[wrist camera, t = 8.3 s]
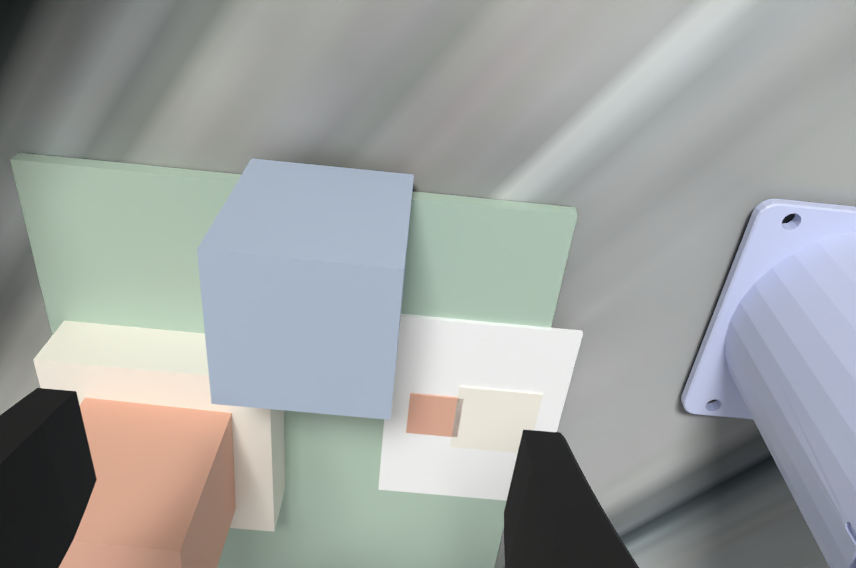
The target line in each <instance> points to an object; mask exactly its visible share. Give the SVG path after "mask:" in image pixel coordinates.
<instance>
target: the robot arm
mask: <svg viewBox="0 0 856 568" xmlns="http://www.w3.org/2000/svg"><path fill="white" fill-rule="evenodd" d="M794 213H795V217H794V218H793V220H792V221H790V222H788V223H783V224H782V220H783V219H784V218H785V217H786V216H787V215H789V214H794ZM711 400H716V401H714V402H713V403H708V402H709V401H711ZM681 401H682V404H683V406H684V408H685V410H686V411H687V412H689V413H692V414H699V415H710V416H721V417H732V418H743V419H753V420H754V422H755V424H756V426H757V428H758V430H759V432H760V434H761V435H762V437H763V439H764V441H765V443H766V445H767V447H768V449H769V451H770V453H771V455H772V457H773V459H774V461H775V463H776V465H777V467H778V468H779V470H780V472H781V474H782V476H783V478H784V480H785V482H786V484H787V486H788V488H789V490H790V492H791V494H792V496H793V498H794V500H795V502H796V503H797V505H798V507H799V509H800V511H801V513H802V515H803V517H804V519H805V521H806V523H807V525H808V527H809V529H810V531H811V533H812V535H813V537H814V538H815V540H816V542H817V544H818V546H819V548H820V550H821V552H822V554H823V556H824V558H825V560H826V562H827V564H828V566H829V568H856V207H854V206H844V205H834V204H824V203H814V202H804V201H794V200H784V199H768V200H766V201H763V202H761V203H760V204H759V205H758V206H756V208H755V209H754V211H753V212H752V215H751V217H750V220H749V223H748V225H747V228H746V230H745V233H744V236H743V238H742V241H741V243H740V246H739V248H738V251H737V254H736V256H735V259H734V261H733V264H732V267H731V269H730V272H729V274H728V277H727V280H726V282H725V285H724V287H723V290H722V292H721V295H720V298H719V300H718V303H717V305H716V308H715V311H714V313H713V316H712V318H711V321H710V324H709V326H708V329H707V331H706V334H705V336H704V339H703V342H702V344H701V347H700V349H699V352H698V355H697V357H696V360H695V362H694V365H693V368H692V370H691V373H690V375H689V378H688V380H687V383H686V386H685V388H684V391H683V393H682V396H681ZM96 480H97V478H96V474H95V470H94V465H93V461H92V457H91V453H90V448H89V444H88V440H87V435H86V431H85V427H84V422H83V418H82V414H81V410H80V405H79V401H78V397H77V392H76V391H67V390H56V389H44V388H37V389H36V390H34V391H33V392H31V393H30V394H29V395H27V396H26V397H24V398H23V399H22V400H20V401H19V402H18V403H16V404H15V405H14V406H12V407H11V408H10V409H8V410H7V411H6V412H4V413H3V414H2V415H0V568H59V566H60V564H61V562H62V560H63V559H64V557H65V555H66V553H67V551H68V549H69V547H70V545H71V543H72V541H73V540H74V537H75V535H76V532H77V530H78V527H79V525H80V522H81V520H82V517H83V515H84V512H85V510H86V507H87V504H88V502H89V499H90V496H91V494H92V491H93V488H94V486H95V483H96ZM504 545H505V568H639V567H638V565H637V564H636V562H635V561H634V559H633V558H632V556H631V555H630V553H629V551H628V550H627V548H626V546H625V545H624V543H623V542H622V540H621V538H620V537H619V535H618V533H617V532H616V530H615V529H614V527H613V525H612V524H611V522H610V521H609V519H608V517H607V515H606V514H605V512H604V510H603V509H602V507H601V505H600V503H599V502H598V500H597V498H596V496H595V494H594V493H593V491H592V489H591V487H590V485H589V484H588V482H587V480H586V478H585V476H584V474H583V472H582V471H581V469H580V467H579V465H578V463H577V461H576V459H575V457H574V455H573V453H572V451H571V449H570V447H569V445H568V443H567V441H566V439H565V438H564V436H563V435H562V434H561V433H558V432H547V431H535V430H523V432H522V437H521V441H520V445H519V450H518V454H517V458H516V463H515V467H514V471H513V475H512V480H511V484H510V488H509V493H508V497H507V501H506V505H505V510H504Z"/></svg>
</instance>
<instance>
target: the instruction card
mask: <svg viewBox="0 0 856 568" xmlns="http://www.w3.org/2000/svg"><path fill="white" fill-rule="evenodd" d="M582 336H583V332H582V331H581V330H570V329H560V328H549V327H538V326H528V325H517V324H506V323H495V322H485V321H474V320H463V319H453V318H442V317H431V316H420V315H410V314H401V321H400V330H399V340H398V350H397V360H396V370H395V380H394V390H393V400H392V410H391V420H387V419H384V428H383V440H382V452H381V464H380V476H379V487H378V490H388V491H400V492H411V493H423V494H435V495H446V496H458V497H470V498H481V499H493V500H505V501H507V497H508V493H509V488H510V484H511V480H512V475H513V471H514V467H515V463H516V458H517V454H518V450H519V445H520V441H521V437H522V432H523V430H535V431H547V432H557V429H558V425H559V421H560V417H561V414H562V410H563V406H564V403H565V399H566V395H567V391H568V388H569V384H570V380H571V377H572V373H573V369H574V365H575V362H576V358H577V354H578V350H579V347H580V343H581V339H582Z"/></svg>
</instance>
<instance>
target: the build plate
mask: <svg viewBox="0 0 856 568" xmlns="http://www.w3.org/2000/svg"><path fill="white" fill-rule="evenodd" d="M10 163H11V167H12V171H13V175H14V179H15V183H16V187H17V191H18V196H19V200H20V204H21V208H22V212H23V216H24V220H25V224H26V229H27V233H28V237H29V241H30V245H31V249H32V253H33V257H34V262H35V266H36V270H37V274H38V278H39V282H40V286H41V290H42V295H43V299H44V303H45V307H46V311H47V315H48V319H49V324H50V328H51V332H52V335H53V334H54V333H55V332H56V330H57V329H58V328H59V327H60V325H61V324H62V323H63V321H74V322H85V323H96V324H107V325H118V326H129V327H140V328H151V329H162V330H173V331H183V332H194V333H205V329H204V319H203V308H202V298H201V287H200V277H199V266H198V256H197V248H198V246H199V245H200V243H201V241H202V240H203V238H204V236H205V235H206V233H207V232H208V230H209V228H210V227H211V225H212V223H213V222H214V220H215V218H216V217H217V215H218V213H219V212H220V210H221V208H222V207H223V205H224V203H225V202H226V200H227V198H228V197H229V195H230V193H231V192H232V190H233V188H234V187H235V185H236V183H237V182H238V180H239V178H240V177H241V174H231V173H221V172H211V171H201V170H190V169H180V168H170V167H160V166H150V165H140V164H130V163H119V162H109V161H99V160H89V159H79V158H69V157H58V156H48V155H38V154H28V153H18V154H16V155H15V156H14V157H12V158H11V159H10ZM576 220H577V212H576V209H575V207H566V206H556V205H546V204H535V203H525V202H515V201H505V200H495V199H485V198H475V197H464V196H454V195H444V194H434V193H424V192H414V191H412V202H411V213H410V224H409V235H408V246H407V257H406V267H405V278H404V289H403V300H402V311H401V314H410V315H420V316H431V317H442V318H453V319H463V320H474V321H485V322H495V323H506V324H517V325H528V326H538V327H549V328H551V325H552V321H553V317H554V313H555V308H556V304H557V300H558V296H559V292H560V287H561V283H562V279H563V275H564V270H565V266H566V262H567V258H568V253H569V249H570V245H571V241H572V237H573V232H574V228H575V224H576ZM383 428H384V419H376V418H365V417H353V416H342V415H331V414H320V413H308V412H297V411H286V410H284V438H285V491H284V495H283V499H282V503H281V507H280V511H279V515H278V519H277V523H276V527H275V531H274V532H272V531H260V530H249V529H237V528H229V532H228V535H227V538H226V541H225V544H224V547H223V551H222V554H221V557H220V560H219V563H218V566H217V568H494V566H495V562H496V558H497V554H498V550H499V545H500V541H501V537H502V533H503V528H504V510H505V505H506V501H505V500H493V499H481V498H470V497H458V496H446V495H435V494H423V493H411V492H400V491H388V490H378V487H379V476H380V464H381V452H382V440H383Z"/></svg>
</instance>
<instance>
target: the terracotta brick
mask: <svg viewBox="0 0 856 568" xmlns="http://www.w3.org/2000/svg"><path fill="white" fill-rule="evenodd" d="M80 410H81V414H82V418H83V422H84V427H85V431H86V435H87V440H88V444H89V448H90V453H91V457H92V461H93V465H94V470H95V474H96V478H97V480H96V483H95V486H94V488H93V491H92V494H91V496H90V499H89V502H88V504H87V507H86V510H85V512H84V515H83V517H82V520H81V522H80V525H79V527H78V530H77V532H76V535H75V537H74V540H73V541H72V543H71V545H70V547H69V549H68V551H67V553H66V555H65V557H64V559H63V560H62V562H61V564H60V566H59V568H217V566H218V563H219V560H220V557H221V554H222V551H223V547H224V544H225V541H226V538H227V535H228V532H229V528H230V525H231V522H232V519H233V516H234V513H235V509H236V503H235V480H234V457H233V434H232V413H227V412H217V411H208V410H199V409H189V408H180V407H170V406H161V405H151V404H142V403H132V402H123V401H113V400H104V399H95V398H84V400H83V401H82V403H81V404H80Z"/></svg>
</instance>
